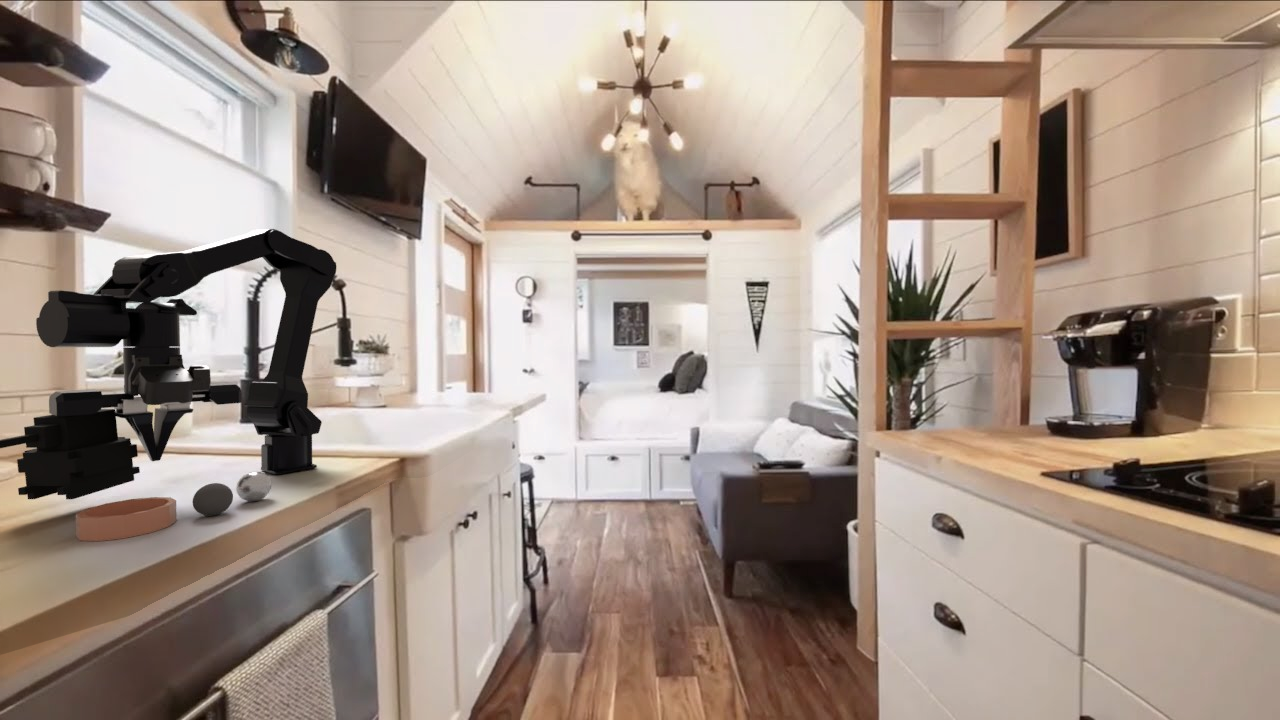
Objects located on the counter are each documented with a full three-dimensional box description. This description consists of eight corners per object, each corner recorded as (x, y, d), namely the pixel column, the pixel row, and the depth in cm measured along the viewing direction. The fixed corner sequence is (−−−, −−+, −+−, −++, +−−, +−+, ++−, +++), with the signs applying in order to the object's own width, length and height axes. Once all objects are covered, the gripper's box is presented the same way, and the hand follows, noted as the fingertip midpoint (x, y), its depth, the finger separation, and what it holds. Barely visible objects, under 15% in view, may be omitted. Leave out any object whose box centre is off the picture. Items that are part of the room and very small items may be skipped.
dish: (163, 512, 68) (163, 493, 68) (184, 525, 63) (184, 504, 63) (70, 531, 61) (70, 509, 61) (86, 546, 56) (85, 523, 56)
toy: (-43, 517, 59) (-54, 429, 58) (94, 478, 73) (87, 407, 72) (20, 517, 59) (10, 429, 58) (146, 478, 73) (139, 406, 72)
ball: (226, 508, 70) (226, 478, 70) (238, 513, 67) (237, 482, 67) (188, 516, 66) (187, 484, 66) (199, 522, 64) (198, 489, 64)
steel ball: (265, 495, 76) (264, 467, 76) (277, 499, 74) (276, 471, 74) (231, 501, 73) (231, 472, 73) (243, 506, 70) (242, 477, 70)
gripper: (63, 347, 60) (67, 483, 60) (255, 347, 75) (258, 455, 75) (46, 347, 66) (50, 470, 67) (226, 347, 81) (229, 447, 82)
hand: (155, 460), depth 72 cm, fingers closed
